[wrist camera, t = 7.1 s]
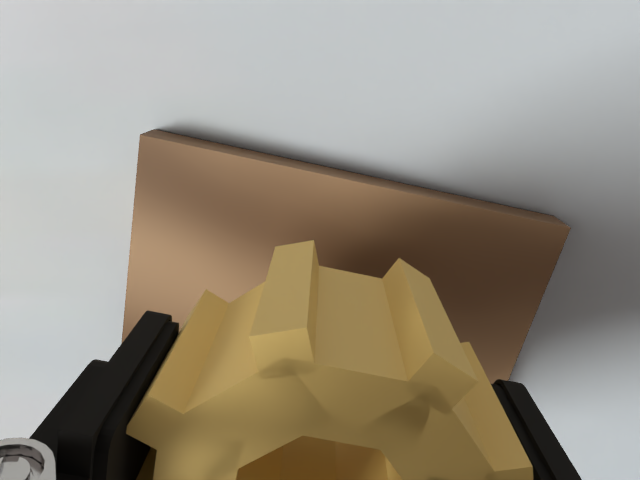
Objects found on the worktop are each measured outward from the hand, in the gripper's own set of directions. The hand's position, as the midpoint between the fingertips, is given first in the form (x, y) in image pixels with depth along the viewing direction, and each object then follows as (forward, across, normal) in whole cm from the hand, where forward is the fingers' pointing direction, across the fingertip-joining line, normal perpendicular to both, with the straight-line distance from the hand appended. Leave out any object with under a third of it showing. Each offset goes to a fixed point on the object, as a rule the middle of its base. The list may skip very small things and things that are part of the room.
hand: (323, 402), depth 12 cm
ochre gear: (+1, 0, 0) cm, 1 cm away
